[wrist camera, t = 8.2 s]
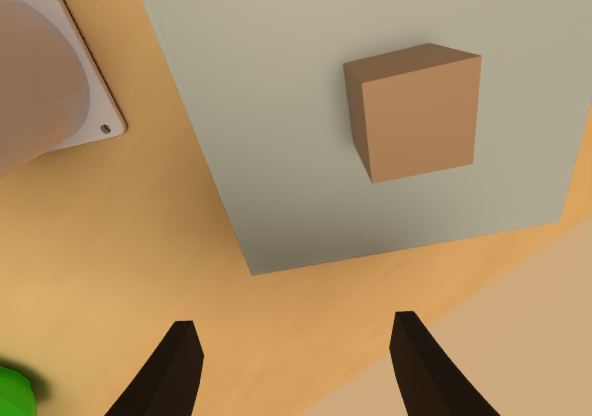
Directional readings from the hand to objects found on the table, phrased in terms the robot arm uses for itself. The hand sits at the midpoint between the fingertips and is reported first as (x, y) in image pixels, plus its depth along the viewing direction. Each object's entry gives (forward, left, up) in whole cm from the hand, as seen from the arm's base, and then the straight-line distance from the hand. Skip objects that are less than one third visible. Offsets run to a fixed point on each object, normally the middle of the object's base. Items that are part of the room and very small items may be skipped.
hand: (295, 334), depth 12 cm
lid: (+5, +6, -5) cm, 10 cm away
